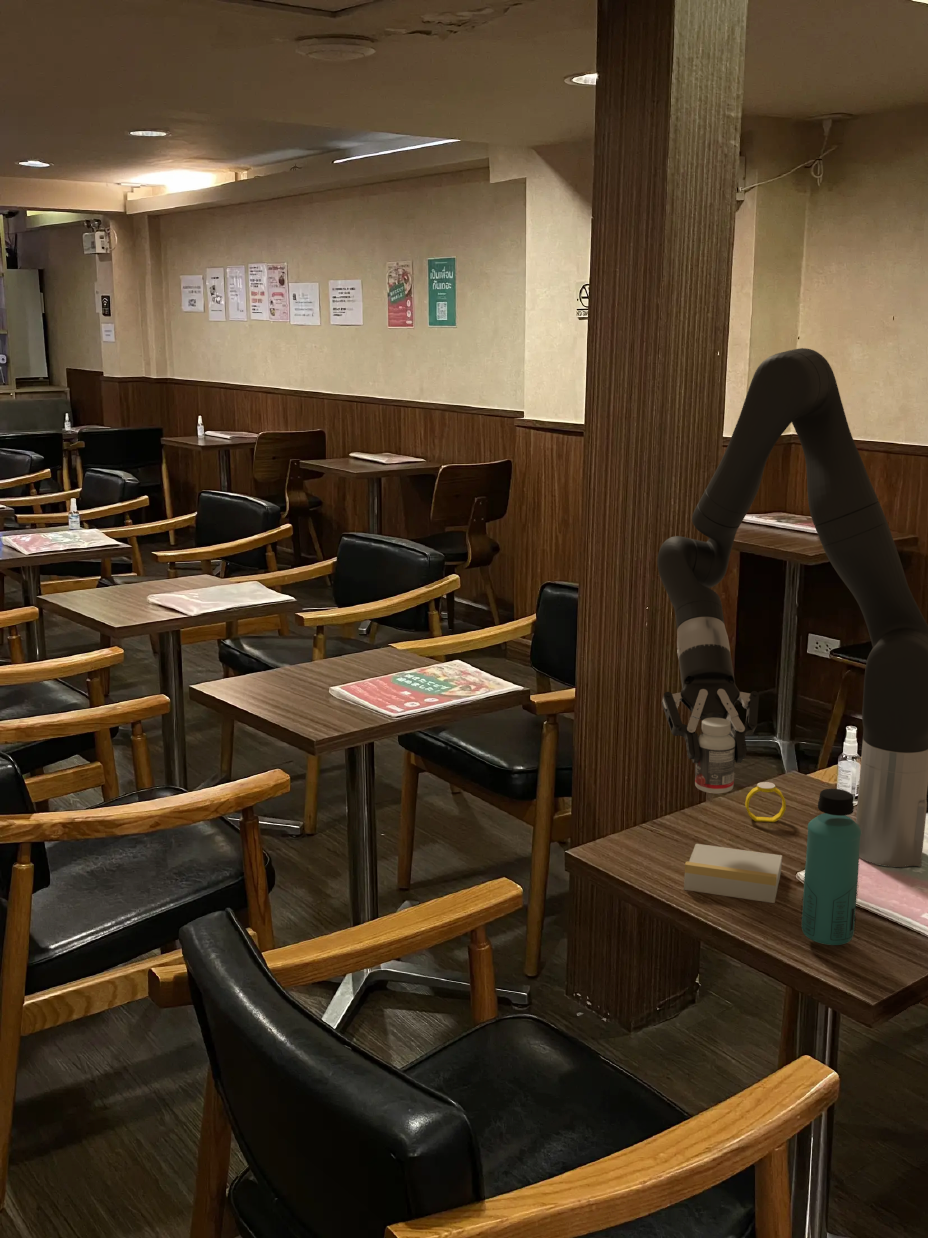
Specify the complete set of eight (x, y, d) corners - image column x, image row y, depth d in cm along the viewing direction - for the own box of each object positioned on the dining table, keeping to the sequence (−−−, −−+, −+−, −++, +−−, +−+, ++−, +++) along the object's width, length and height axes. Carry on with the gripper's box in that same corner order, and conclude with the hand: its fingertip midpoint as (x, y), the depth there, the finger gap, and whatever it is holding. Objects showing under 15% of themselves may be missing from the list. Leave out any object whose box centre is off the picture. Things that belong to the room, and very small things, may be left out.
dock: (780, 872, 168) (782, 847, 167) (774, 903, 159) (776, 877, 158) (695, 859, 172) (696, 835, 171) (683, 889, 163) (685, 864, 162)
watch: (746, 825, 185) (746, 788, 183) (744, 817, 187) (744, 782, 186) (786, 824, 184) (786, 787, 183) (784, 817, 187) (783, 781, 185)
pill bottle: (690, 781, 172) (692, 716, 169) (726, 779, 172) (729, 714, 170) (700, 795, 166) (703, 728, 164) (738, 793, 167) (741, 727, 165)
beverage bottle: (856, 960, 145) (869, 805, 140) (799, 954, 146) (811, 800, 141) (850, 934, 151) (863, 785, 146) (796, 928, 152) (807, 780, 147)
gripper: (658, 642, 172) (670, 749, 163) (758, 641, 172) (775, 748, 163) (652, 668, 178) (663, 772, 170) (748, 667, 178) (764, 771, 170)
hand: (718, 760), depth 166 cm, fingers closed on pill bottle, 5 cm apart
